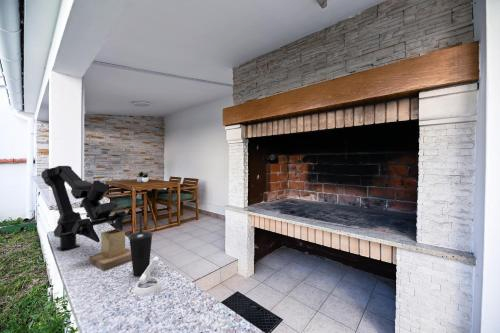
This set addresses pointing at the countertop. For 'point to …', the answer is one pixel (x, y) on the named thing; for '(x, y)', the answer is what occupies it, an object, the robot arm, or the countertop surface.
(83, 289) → the countertop surface
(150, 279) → the hook
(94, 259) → the post stand
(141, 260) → the drinking cup
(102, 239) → the collar
